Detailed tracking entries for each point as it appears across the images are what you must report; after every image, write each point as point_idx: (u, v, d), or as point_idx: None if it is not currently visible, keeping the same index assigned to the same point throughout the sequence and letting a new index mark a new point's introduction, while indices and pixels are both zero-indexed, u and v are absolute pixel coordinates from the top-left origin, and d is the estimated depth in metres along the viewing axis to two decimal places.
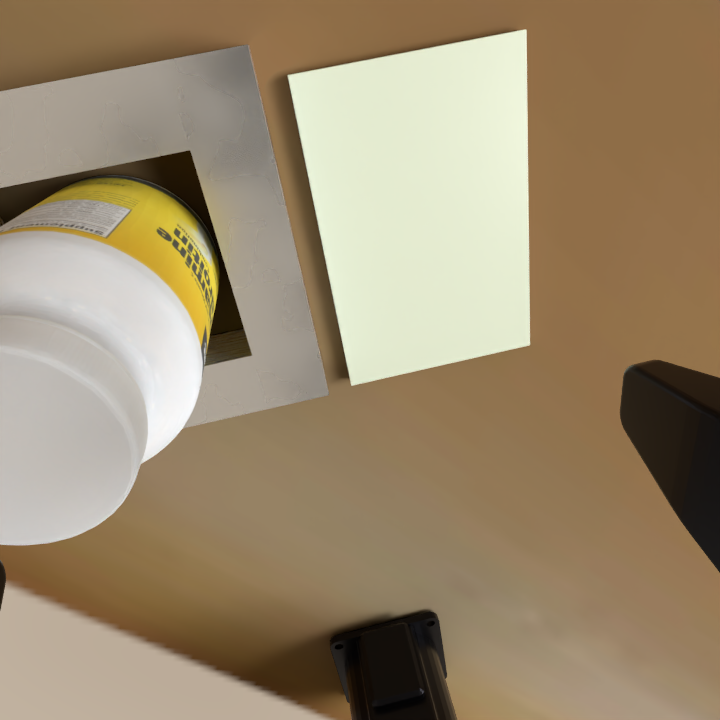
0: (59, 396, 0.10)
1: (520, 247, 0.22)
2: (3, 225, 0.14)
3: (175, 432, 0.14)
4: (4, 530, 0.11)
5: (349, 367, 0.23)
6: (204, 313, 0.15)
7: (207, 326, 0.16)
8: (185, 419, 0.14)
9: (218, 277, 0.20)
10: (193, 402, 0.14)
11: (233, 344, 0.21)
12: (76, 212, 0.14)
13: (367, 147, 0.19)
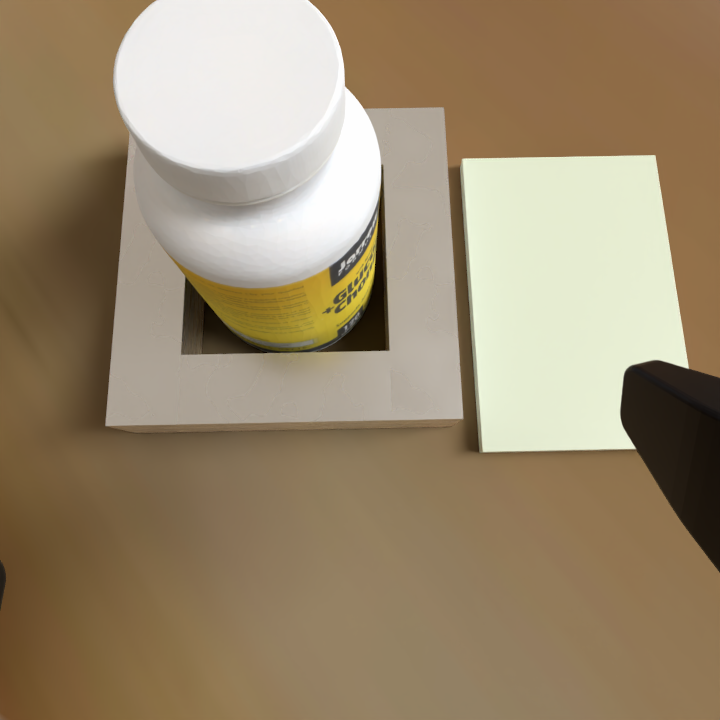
0: (298, 26, 0.11)
1: (673, 328, 0.21)
2: None
3: (337, 234, 0.13)
4: (182, 142, 0.11)
5: (483, 427, 0.20)
6: None
7: (376, 226, 0.16)
8: (350, 227, 0.14)
9: (373, 282, 0.21)
10: (363, 214, 0.14)
11: None
12: None
13: (521, 216, 0.22)
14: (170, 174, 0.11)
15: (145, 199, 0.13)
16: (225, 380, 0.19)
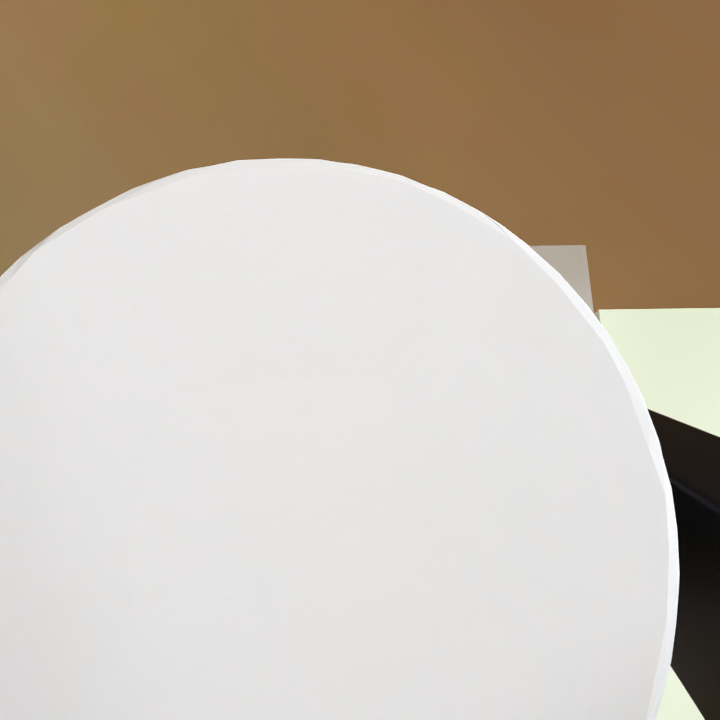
0: (509, 341, 0.03)
1: None
2: None
3: None
4: None
5: None
6: None
7: None
8: None
9: None
10: None
11: None
12: None
13: (696, 404, 0.14)
14: None
15: None
16: None
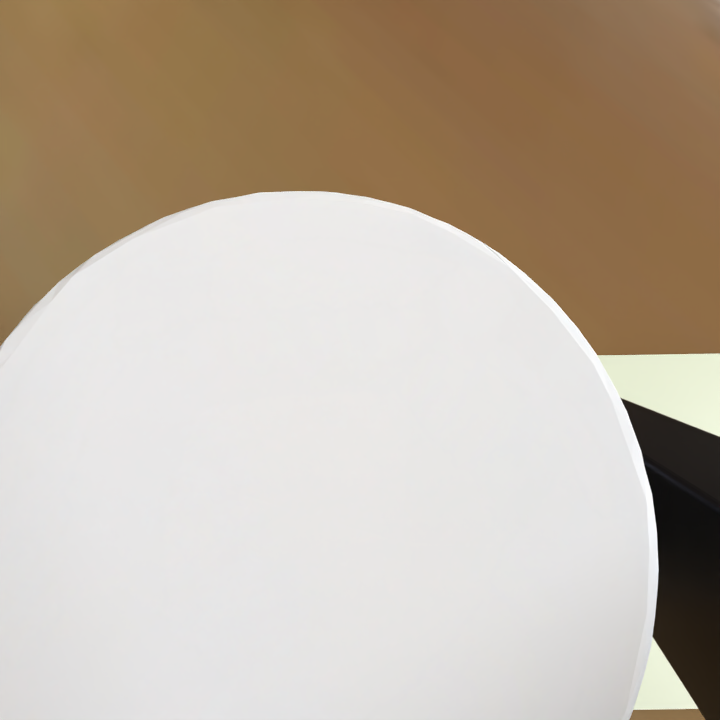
0: (507, 362, 0.04)
1: None
2: None
3: None
4: None
5: None
6: None
7: None
8: None
9: None
10: None
11: None
12: None
13: None
14: None
15: None
16: None
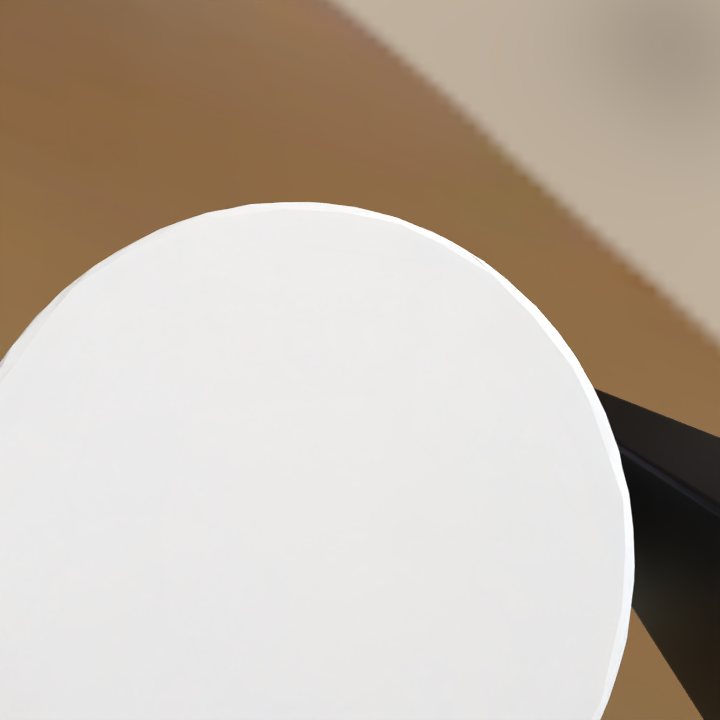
0: (489, 367, 0.04)
1: None
2: None
3: None
4: None
5: None
6: None
7: None
8: None
9: None
10: None
11: None
12: None
13: None
14: None
15: None
16: None
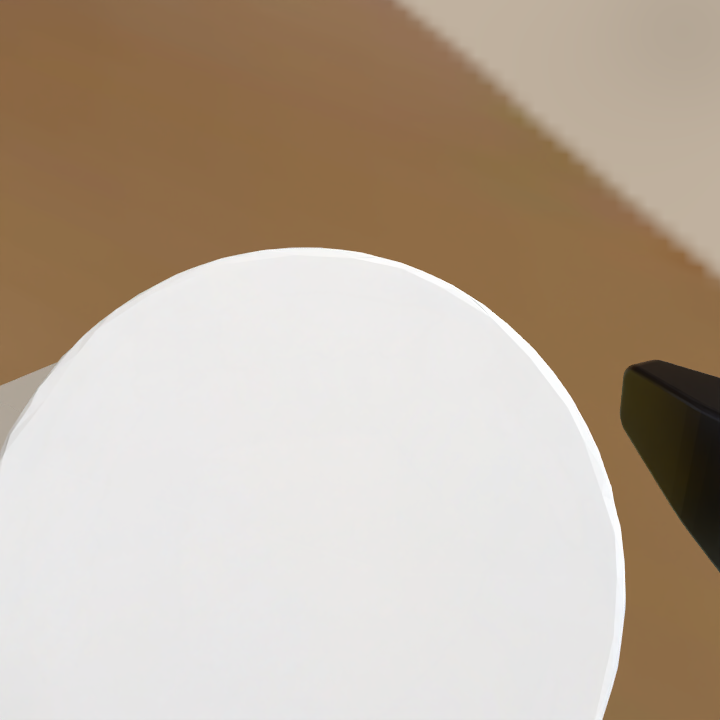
0: (488, 405, 0.04)
1: None
2: None
3: None
4: None
5: None
6: None
7: None
8: None
9: None
10: None
11: None
12: None
13: None
14: None
15: None
16: None
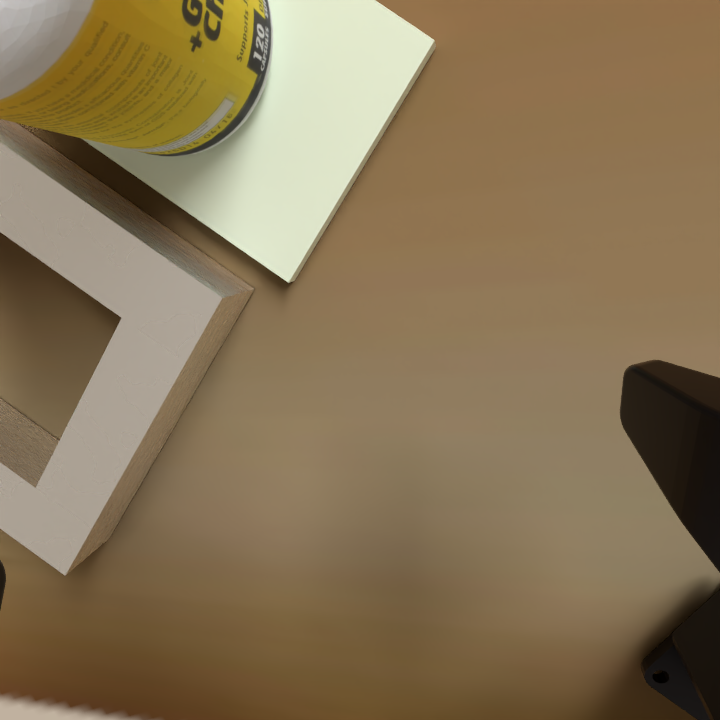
0: None
1: None
2: None
3: None
4: None
5: (266, 264, 0.18)
6: None
7: None
8: None
9: None
10: None
11: None
12: None
13: None
14: None
15: None
16: (74, 470, 0.18)
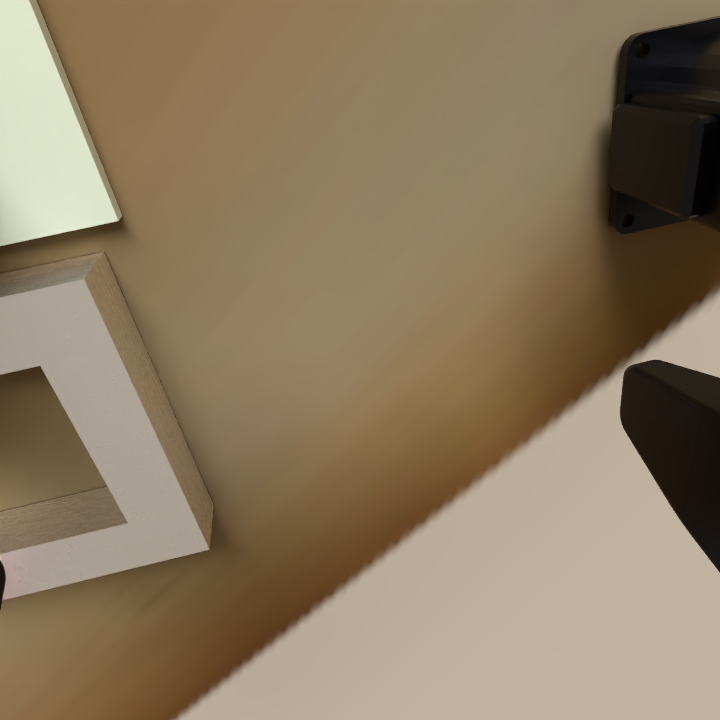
0: None
1: None
2: None
3: None
4: None
5: (88, 224, 0.17)
6: None
7: None
8: None
9: None
10: None
11: None
12: None
13: None
14: None
15: None
16: (136, 488, 0.20)
